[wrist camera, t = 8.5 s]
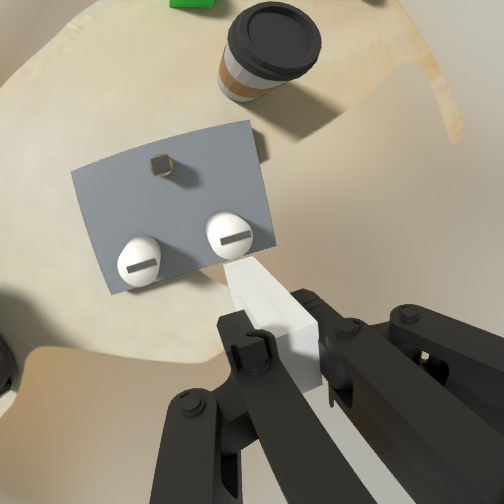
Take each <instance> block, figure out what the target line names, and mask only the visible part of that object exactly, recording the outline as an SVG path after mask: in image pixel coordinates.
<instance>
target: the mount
mask: <svg viewBox="0 0 504 504" xmlns="http://www.w3.org/2000/svg"><path fill="white" fill-rule="evenodd" d="M158 154H168V156H169V157H170V158H171V160H172V162H173V169H172V171H171V173H170V174H168V175H167V176H163V177H158V176H154V174H153V173H152V172H151V170H150V162H151V160H150V159H152V158H153V157H154V156H156V155H158ZM71 175H72V179H73V183H74V187H75V191H76V195H77V198H78V202H79V206H80V209H81V212H82V216H83V219H84V222H85V226H86V229H87V232H88V235H89V238H90V241H91V244H92V247H93V249H94V252H95V255H96V258H97V260H98V263H99V266H100V268H101V271H102V274H103V276H104V279H105V281H106V284H107V286H108V288H109V291H110V293H111V295H113V294H117V293H120V292H123V291H127V290H130V289H133V288H137V286H132V285H130V284H128V283H127V282H125V281H124V280H123V279H122V277H121V276H120V274H119V271H118V265H117V264H118V259H119V256H120V254H121V253H122V251H123V250H124V248H125V246H126V245H127V243H128V242H129V241H130V240H131V239H132V238H133V237H135V236H138V235H148V236H150V237H152V238H154V239H155V240H156V241H157V242H158V244H159V246H160V249H161V259H160V265H159V272H158V275H157V277H156V278H155V280H154V281H153V282H157V281H160V280H163V279H167V278H170V277H173V276H177V275H180V274H184V273H187V272H190V271H194V270H197V269H200V268H203V267H207V266H210V265H213V264H217V263H220V262H224V261H227V260H230V259H225V258H222V257H220V256H218V255H217V254H216V253H215V252H214V250H213V249H212V247H211V245H210V243H209V240H208V238H207V236H206V232H205V227H206V223H207V221H208V219H209V218H210V217H211V216H212V215H213V214H214V213H216V212H219V211H230V212H233V213H234V214H236V215H237V216H239V217H240V218H241V219H243V220H244V221H245V222H246V223H247V224H248V225H249V226H250V228H251V230H252V234H253V241H252V244H251V247H250V249H249V250H248V251H247V252H246V253H245V254H244V255H247V254H250V253H253V252H257V251H260V250H264V249H267V248H270V247H274V246H276V241H275V235H274V230H273V225H272V220H271V216H270V211H269V206H268V201H267V197H266V192H265V187H264V182H263V178H262V173H261V168H260V164H259V159H258V155H257V150H256V146H255V141H254V137H253V132H252V128H251V123H250V120H245V121H239V122H234V123H229V124H224V125H219V126H214V127H210V128H205V129H201V130H197V131H193V132H189V133H185V134H181V135H177V136H173V137H170V138H166V139H162V140H159V141H156V142H152V143H149V144H146V145H142V146H139V147H136V148H133V149H130V150H127V151H124V152H121V153H118V154H115V155H112V156H110V157H107V158H104V159H101V160H99V161H96V162H94V163H91V164H88V165H86V166H83V167H81V168H79V169H76V170H74V171H71ZM244 255H243V256H244ZM153 282H152V283H153Z"/></svg>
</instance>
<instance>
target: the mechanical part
mask: <svg viewBox="0 0 504 504" xmlns="http://www.w3.org/2000/svg"><path fill="white" fill-rule="evenodd" d="M213 5H214V0H170V7H201V8H213Z"/></svg>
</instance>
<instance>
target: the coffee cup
mask: <svg viewBox="0 0 504 504" xmlns="http://www.w3.org/2000/svg"><path fill="white" fill-rule="evenodd" d="M227 40H228V41H227V44H226V46H225V48H224V52H223V56H222V59H221V63H220V68H219V73H218V84H219V87H220V89H221V91H222V92H223V93H224V94H225V95H226V96H228V97H229V98H231V99H233V100H236V101H241V102H246V101H251V100H254V99H256V98H258V97H260V96H263V95H265V94H266V93H268V92H270V91H272V90H274V89H276V88H277V87H279V86H281V85H283V84H284V83H286V82H288V81H290V80H293V79H297V78H299V77H301V76H302V75H304V74H305V73H307V71H308V70H309V69H311V68H312V66H313V65H314V64H315V63H316V61H317V59H318V56H319V53H320V50H321V36H320V32H319V30H318V28H317V26H316V25H315V23H314V22H313V21H312V19H311V18H310V17H309V16H308V15H307V14H305V13H304V12H303V11H301V10H300V9H298V8H296V7H294V6H292V5H289V4H285V3H282V2H271V1H269V2H263V3H258V4H256V5H254V6H252V7H250V8H248V9H246V10H244V11H243V12H242V13H240V14H239V15H238V16H237V17H236V19H235V20H234V21H233V23H232V25H231V27H230V28H229V31H228V39H227Z"/></svg>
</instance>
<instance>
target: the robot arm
mask: <svg viewBox="0 0 504 504" xmlns="http://www.w3.org/2000/svg"><path fill="white" fill-rule="evenodd" d="M223 266H224V270H225V274H226V278H227V282H228V286H229V289H230V293H231V297H232V301H233V304H234V308H235V312H234V313H230V314H227V315H224V316H221V317H219V320H218V322H217V328H218V331H219V334H220V337H221V340H222V343H223V346H224V349H225V352H226V355H227V358H228V360H229V363H230V366H231V373H230V376H229V377H228V379H227V380H226V381H225V383H224V384H222V385H221V386H220V387H218V388H216V389H215V390H213V391H211V392H210V391H208V390H205V389H202V388H194V389H189V390H185V391H183V392H181V393H179V394H178V395H176V396H175V397H174V398H173V399H172V400H171V403H170V405H169V407H168V410H167V415H166V420H165V424H164V429H163V433H162V438H161V443H160V448H159V454H158V458H157V464H156V469H155V474H154V480H153V485H152V491H151V497H150V503H149V504H243V498H242V472H241V450H242V449H243V448H245V447H247V446H248V445H250V444H251V443H253V442H254V441H256V440H257V439H259V441H260V443H261V446H262V448H263V450H264V453H265V455H266V457H267V459H268V462H269V464H270V466H271V468H272V471H273V473H274V475H275V477H276V479H277V482H278V484H279V486H280V488H281V490H282V492H283V494H284V496H285V498H286V500H287V503H288V504H377V502H376V501H375V500H374V498H373V497H372V495H371V494H370V493H369V491H368V490H367V488H366V487H365V486H364V485H363V483H362V482H361V480H360V479H359V477H358V476H357V474H356V473H355V472H354V470H353V469H352V467H351V466H350V465H349V463H348V462H347V460H346V459H345V457H344V456H343V454H342V453H341V452H340V450H339V449H338V447H337V446H336V444H335V443H334V441H333V440H332V438H331V437H330V435H329V434H328V433H327V431H326V430H325V428H324V427H323V425H322V424H321V422H320V421H319V419H318V418H317V416H316V415H315V413H314V412H313V410H312V408H311V407H310V405H309V404H308V402H307V401H306V399H305V398H304V396H303V395H302V393H304V392H307V391H309V390H312V389H314V388H316V387H318V386H320V385H322V375H323V376H324V377H325V378H326V380H327V381H328V386H329V404H330V407H331V408H332V407H333V406H334V400H335V401H336V402H337V404H338V405H339V406H340V408H341V409H342V410H343V412H344V413H345V414H346V415H347V417H348V418H349V419H350V421H351V422H352V423H353V425H354V426H355V427H356V429H357V430H358V431H359V432H360V434H361V435H362V436H363V438H364V439H365V440H366V441H367V443H368V444H369V445H370V447H371V448H372V449H373V450H374V452H375V453H376V454H377V455H378V457H379V458H380V459H381V461H382V462H383V463H384V464H385V465H386V467H387V468H388V469H389V471H390V472H391V473H392V474H393V476H394V477H395V478H396V479H397V481H398V482H399V483H400V484H401V486H402V487H403V488H404V489H405V490H406V492H407V493H408V494H409V495H410V497H411V498H412V499H413V500H414V501H415V503H416V504H504V338H502V337H500V336H498V335H495V334H492V333H490V332H487V331H485V330H482V329H479V328H477V327H474V326H471V325H469V324H466V323H464V322H461V321H458V320H456V319H453V318H450V317H448V316H445V315H442V314H440V313H437V312H434V311H432V310H429V309H426V308H424V307H421V306H418V305H413V304H405V305H400V306H398V307H396V308H394V309H393V310H392V311H391V313H390V321H388V322H384V323H380V324H375V325H368V324H366V323H365V322H363V321H361V320H360V319H355V318H343V317H342V316H341V315H340V314H339V313H338V312H336V311H335V310H334V309H333V308H332V307H331V306H329V305H328V304H327V303H325V302H324V300H322V299H320V297H319V296H317V294H315V293H314V292H312V291H309V290H306V289H300V290H297V291H294V292H291V293H288V291H287V290H286V289H284V287H283V286H281V284H280V283H279V282H278V281H277V280H276V279H275V278H274V277H272V275H271V274H270V273H269V272H268V271H267V270H266V269H265V268H264V267H263V266H262V265H261V264H260V263H259V262H258V261H257V260H256V259H255V258H254V257H253V256H251V257H247V258H244V259H240V260H237V261H234V262H230V263H227V264H223ZM422 351H424V352H426V353H428V354H429V358H428V359H426V360H425V359H422V358H421V356H422ZM16 380H17V368H16V365H15V362H14V359H13V357H12V355H11V353H10V352H9V350H8V348H7V347H6V345H5V344H4V343H3V341H2V340H1V339H0V398H1V397H2V396H4V395H5V394H7V393H8V392H9V391H10V390H11V389H12V388H13V386H14V384H15V382H16Z"/></svg>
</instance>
